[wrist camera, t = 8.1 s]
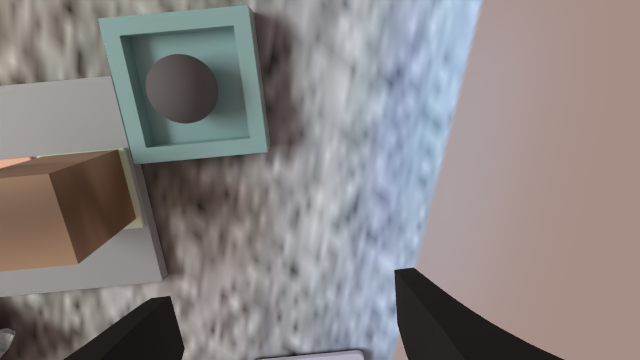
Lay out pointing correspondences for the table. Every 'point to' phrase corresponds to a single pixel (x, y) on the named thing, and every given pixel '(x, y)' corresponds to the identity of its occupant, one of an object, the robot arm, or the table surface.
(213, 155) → the dish
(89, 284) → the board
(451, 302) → the robot arm
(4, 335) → the packaged food
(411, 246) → the table surface
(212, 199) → the table surface
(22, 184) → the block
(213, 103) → the ball
